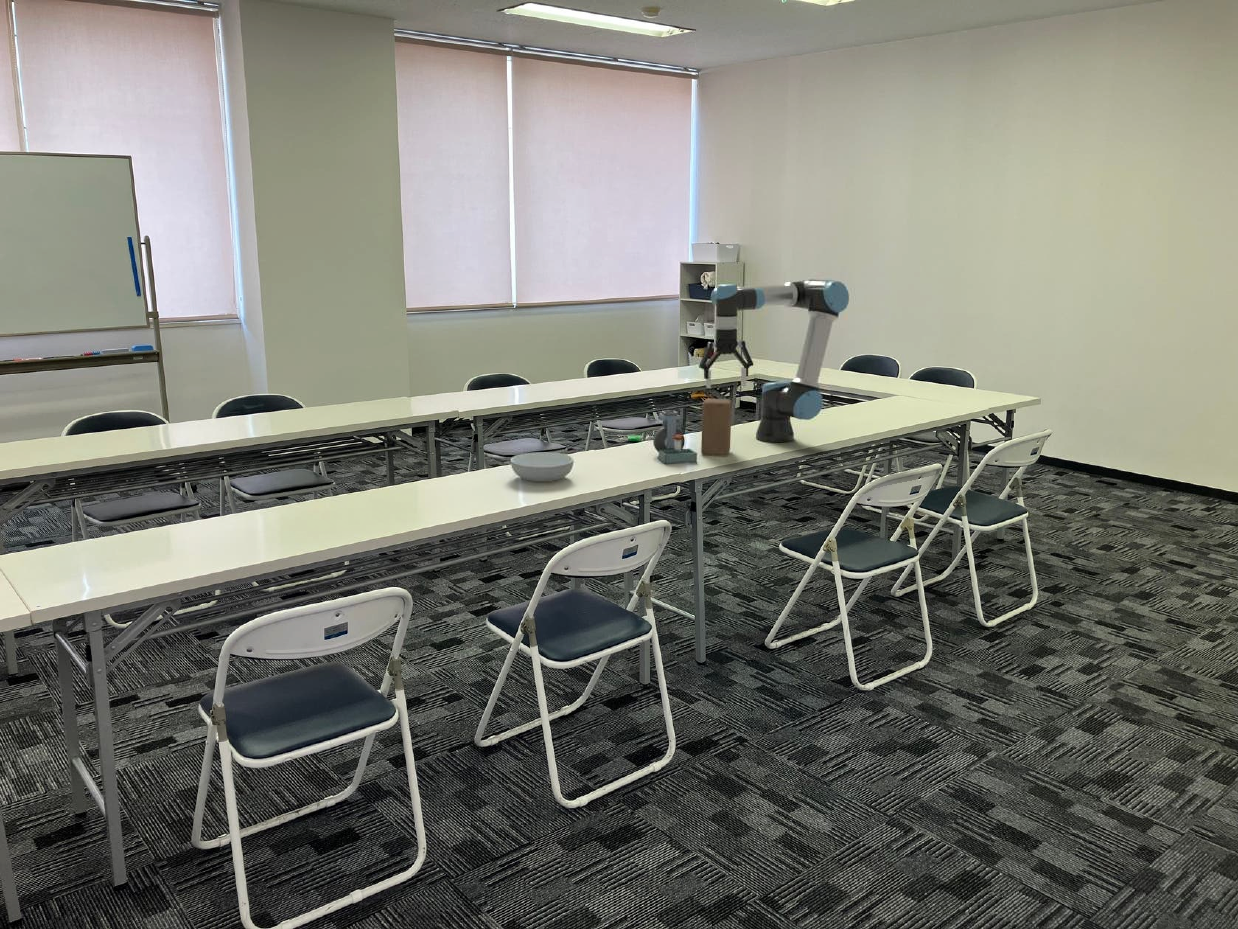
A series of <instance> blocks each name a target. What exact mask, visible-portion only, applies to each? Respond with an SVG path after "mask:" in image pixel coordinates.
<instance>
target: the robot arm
mask: <svg viewBox="0 0 1238 929" xmlns="http://www.w3.org/2000/svg"><path fill="white" fill-rule="evenodd" d="M849 300H850V295H849V290H848V289H847V287H846V285H845V284H844V283H843V282H841V281H839V280H835V279H834V280H832V279H806V280H799V281H789V282H785V283H784V284H783V285H782V284H781V285H779V284H777V285H776V284H775V285H754V286H753V285H752V286H738V285H737V284H734V283H733V284H732V283H731V284H730V283H728V284H724V283H723V284H718V285H717V287H716V288H714V289H713V290H712V291H711V295H710V301H711V303H712V305H713V306H715V308H716V309H715V312H716V314H715V317H716V319H715V327H716V329H715V342H710V341H708V342H707V344H706V350H705V352H704V354H703V356H702V358H701V361H700V363H699V364H698V368H699V369H702V370H703V378H704V380H706V383H705V384H706V387H705V388H707V389H712V383H711V382H712V381H711V380H712V377H711V376H712V370H711V369H710V368H712V366H713V365H714V363H715V362H716V361H717V359H718V358H719V357H720V356H721V355H732V354H733V355H734V356H735V358H736V359H737V361H738V362H739V363H740V364H741V365H742V366H743V367H741V368H740V369H741V371H740V374H741V375H740V378H741V379H740V384H741V386H743V387H746V386H747V377H748V376H749V369H750V367H752V366H754V362H753V360H752V358H751V355H750V353H749V351H748V348H747V346H746V340H742V339H741V340H740V341H738V340H737V339H738V329H737V327H738V311H752V310H759V309H762V307H765V306H766V307H767V306H785V307H787V308H799V309H805V310H808V311H807V314H808V316H809V317H810V318H809V323H808V328H807V330H806V335H805V339H804V343H803V346H802V351H801V355H800V358H799V363H798V366H797V371H796V373H795V377H794V379H792V380H790V381H775V382H766V383H764V384H763V385H762V390H761V391H762V392H761V411H760V412H761V415H760V421H759V424H758V426H757V430H756V433H755V439H756V440H758V441H762V442H767V443H787V442H792V441H794V440H795V432H794V430H793V425H792V422H791V418H794V419H797V420H800V421H801V420H805V421H806V420H808V421H810V420H813V419H814V418H815V417H817V416H818V415H819V413H821V410H822V408H823V405H824V399H823V395H822V394H821V393H820V391H821V386H820V385H819V380H820V379H819V378H820V376H821V375H820V374H821V370H822V366H823V362H824V357H825V354H826V351H827V346H828V343H829V342H828V341H829V339H830V338H829V337H830V334H831V330H832V327H833V322H835V321H836V320H838V318H839V314H840V313H841V312H844V311H845V309H847V307H848V305H849V302H850V301H849ZM738 347H739V348H740V350H741V352H742V354H743V357H744V358H745V359H744V358H743V357H742V355H741V354H740V353H739V351H738V350H737V348H738ZM715 348H716V350H715V351H714V353H713V350H714V349H715ZM712 353H713V354H712ZM711 354H712V355H711ZM710 356H711V357H710Z"/></svg>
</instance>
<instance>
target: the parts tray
mask: <svg viewBox="0 0 1238 929" xmlns="http://www.w3.org/2000/svg"><path fill="white" fill-rule="evenodd" d="M658 461H660V462H661V463H663V464H664V465H678V464H692V463H696V464H697V462H698V452H696V451H694V450H693V449H691V448H683V449H681V453H680V454H674V449H672V450H659V452H658Z"/></svg>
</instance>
